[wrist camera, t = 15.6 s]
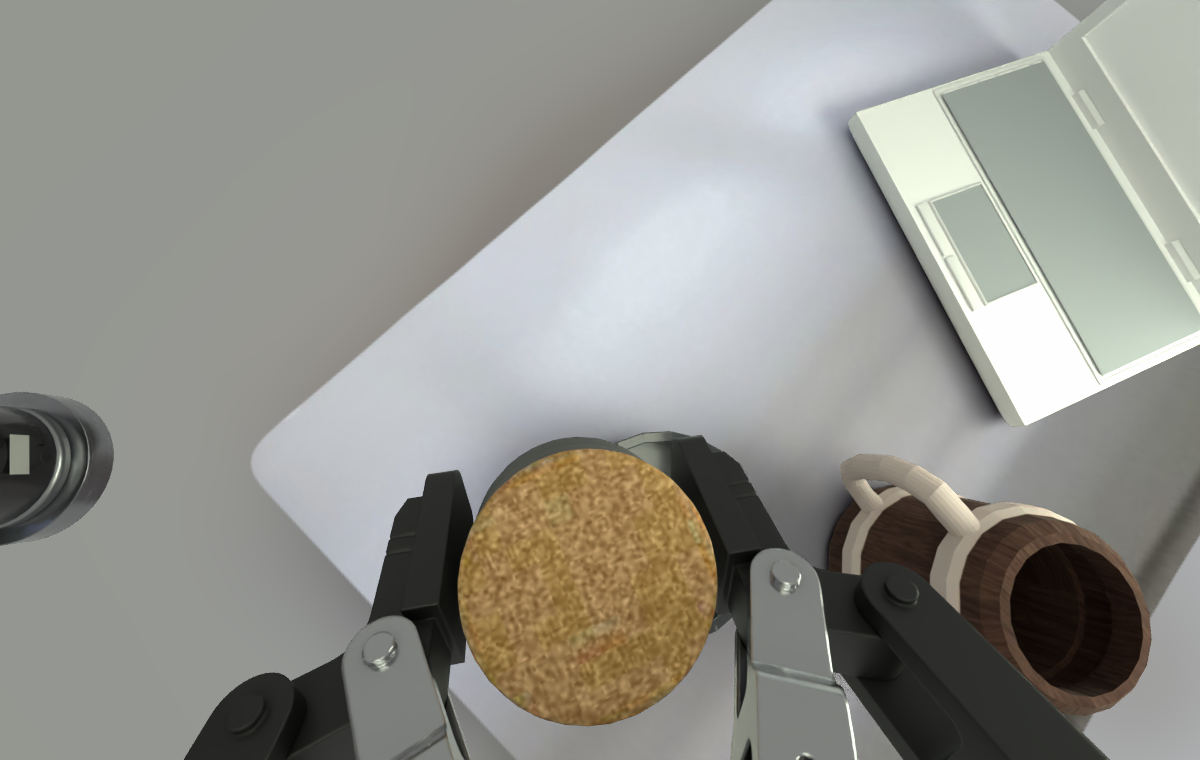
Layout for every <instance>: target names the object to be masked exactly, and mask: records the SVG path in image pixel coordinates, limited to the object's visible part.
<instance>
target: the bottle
mask: <svg viewBox="0 0 1200 760" xmlns="http://www.w3.org/2000/svg"><path fill="white" fill-rule="evenodd" d="M716 600H717V569H716V562H715V557H714V552H713V547H712V542H711V539H710V537H709V534H708V532H707V529H706V527H705V525H704V523H703V521H702V519H701V516H700V514H699V513H698V511H697V509H696V508H695V506H694V504H693V503H692V502H691V500H690V499H689V498H688V497H687V496H686V494H685V493H684V492H683V491H682V490H681V488H680V487H679V486H678V485H677V484H676V483H675V482H674V481H673V480H672V479H671V478H669V477H668V476H667V475H665V474H664V473H663V472H661V471H660V470H659V469H657V468H655V467H653V466H651V465H650V464H648V463H646V462H645V461H643V460H642V459H641V458H640V457H639V456H637V455H635V454H634V453H632V452H630V451H629V450H627V449H625V448H624V447H622V446H619V445H616V444H613V443H610V442H607V441H604V440H601V439H596V438H583V437H571V438H562V439H557V440H553V441H550V442H547V443H545V444H542V445H539V446H537V447H535V448H533V449H531V450H529V451H527V452H526V453H524V454H522V455H521V456H519V457H518V458H517V459H516V460H514V461H513V462H512V463H511V464H509V465H508V466H507V467H506V468H505V470H504V471H503V472H502V473H501V474H500V475H499V476H498V478H497V479H496V480H495V481H494V483H493V484H492V485H491V487H490V488H489V490H488V492H487V494H486V496H485V497H484V500H483V502H482V504H481V507H480V509H479V512H478V514H477V517H476V520H475V522H474V523H473V525H472V528H471V530H470V532H469V535H468V538H467V541H466V544H465V547H464V551H463V554H462V557H461V562H460V569H459V576H458V602H459V611H460V618H461V623H462V628H463V632H464V635H465V637H466V640H467V643H468V646H469V648H470V650H471V652H472V654H473V656H474V659H475V661H476V662H477V664H478V665H479V667H480V668H481V670H482V671H483V672H484V674H485V675H486V677H487V678H488V680H489V681H490V682H491V683H492V684H493V685H494V686H495V687H496V688H497V689H498V690H499V691H500V692H501V693H502V694H503V695H504V696H505V697H507V698H508V699H509V700H510V701H512V702H513V703H514V704H516V705H517V706H518V707H520V708H522V709H524V710H526V711H527V712H529V713H531V714H533V715H535V716H537V717H540V718H542V719H545V720H548V721H552V722H556V723H560V724H564V725H577V726H593V725H604V724H611V723H614V722H617V721H620V720H623V719H626V718H629V717H632V716H635V715H637V714H639V713H641V712H642V711H644V710H646V709H647V708H649V707H651V706H652V705H654V704H656V703H657V702H659V701H660V700H661V699H663V698H664V697H665V696H666V695H668V694H669V693H670V692H671V691H672V690H673V689H674V688H675V687H676V686H677V685H678V684H679V683H680V682H681V681H682V679H683V678H684V677H685V676H686V675H687V674H688V672H689V671H690V669H691V668H692V666H693V664H694V663H695V661H696V660H697V658H698V656H699V654H700V653H701V651H702V649H703V647H704V644H705V642H706V639H707V637H708V634H709V632H710V629H711V625H712V621H713V617H714V613H715V608H716Z"/></svg>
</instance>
